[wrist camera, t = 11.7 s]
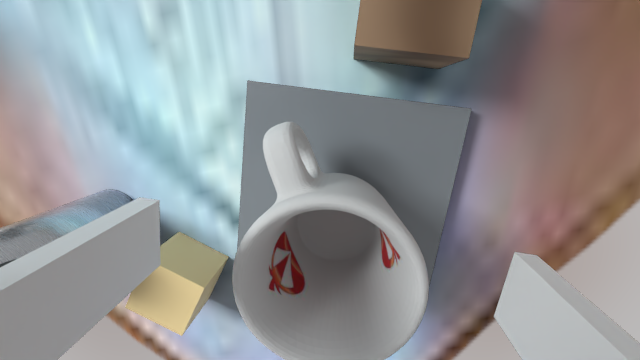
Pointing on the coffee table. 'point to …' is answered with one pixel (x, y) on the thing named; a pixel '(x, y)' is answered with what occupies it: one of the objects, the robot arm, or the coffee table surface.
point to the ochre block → (178, 283)
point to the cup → (327, 263)
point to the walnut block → (416, 31)
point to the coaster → (361, 151)
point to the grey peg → (56, 223)
